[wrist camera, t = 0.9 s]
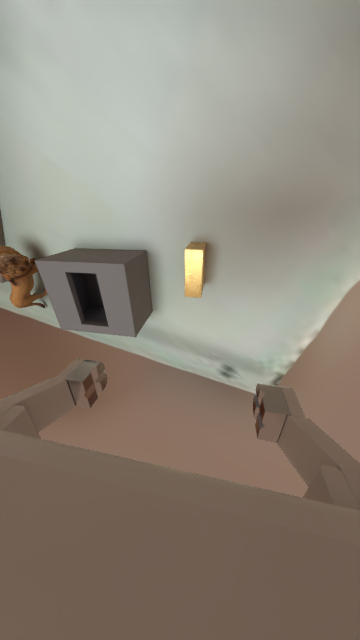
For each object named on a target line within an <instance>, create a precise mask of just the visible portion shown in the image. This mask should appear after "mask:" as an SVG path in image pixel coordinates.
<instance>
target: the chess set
mask: <svg viewBox="0 0 360 640" xmlns="http://www.w3.org/2000/svg"><path fill="white" fill-rule="evenodd" d="M0 246H5V240H4V233H3V226H2V218H1V211H0ZM6 281H8V280H6V279H5V277H4V276H2V275H1V274H0V282H1V283H3V282H6Z"/></svg>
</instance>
